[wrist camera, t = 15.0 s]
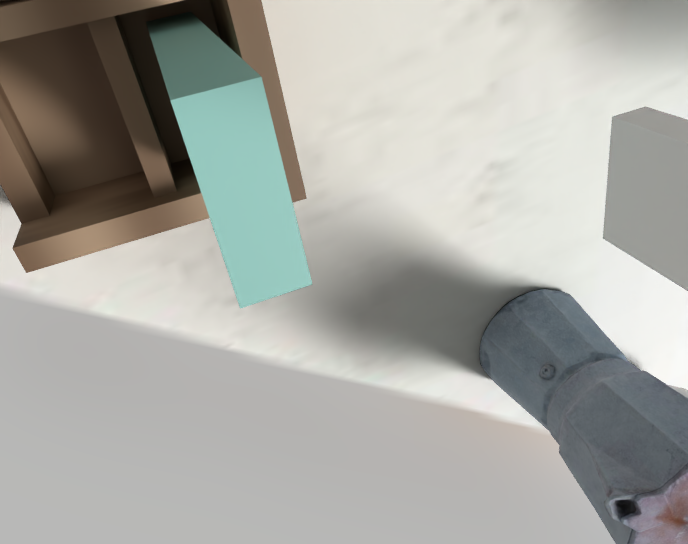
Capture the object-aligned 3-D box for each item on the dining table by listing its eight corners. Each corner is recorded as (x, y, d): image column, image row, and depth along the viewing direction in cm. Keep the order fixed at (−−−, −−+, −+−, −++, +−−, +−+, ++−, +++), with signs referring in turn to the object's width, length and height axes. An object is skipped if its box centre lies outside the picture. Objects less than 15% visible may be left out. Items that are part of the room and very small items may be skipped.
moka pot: (472, 271, 40) (717, 497, 24) (630, 288, 46) (911, 477, 30) (429, 381, 44) (613, 643, 27) (580, 384, 50) (805, 598, 34)
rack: (156, -299, 22) (169, -397, 16) (270, 149, 31) (306, 198, 25) (-193, -253, 20) (-338, -347, 13) (44, 213, 29) (22, 284, 23)
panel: (190, 11, 26) (261, 76, 12) (225, 129, 29) (312, 284, 15) (145, 21, 25) (169, 100, 12) (185, 140, 28) (240, 308, 15)
